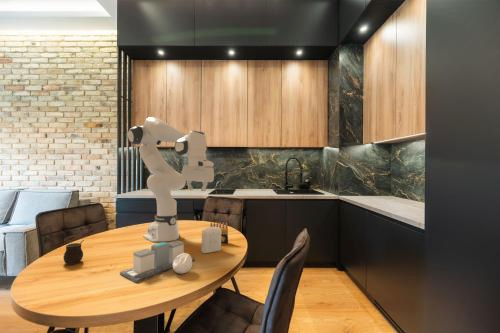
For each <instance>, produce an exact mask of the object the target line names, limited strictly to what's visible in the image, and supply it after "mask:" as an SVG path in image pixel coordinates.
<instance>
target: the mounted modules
mask: <svg viewBox="0 0 500 333" xmlns="http://www.w3.org/2000/svg"><path fill="white" fill-rule="evenodd" d="M167 243H168V244H169V261H174V260H175V259H176V257H177V256H178V255H180V254H183V253H185V252H184V251H185V250H184V249H185V247H184V245H185V243H184V242H183V241H180V240H172V241H169V242H167ZM132 254H133V263H132V264H133V267H132V268H133V270H134V271H136V272H138V273H142V272H144V271H147V270H150V269H153V268H154V254H155V251H152V250H151V248H145V249H141V250H138V251H134V252H133V253H132Z"/></svg>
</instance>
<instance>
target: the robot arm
mask: <svg viewBox="0 0 500 333" xmlns="http://www.w3.org/2000/svg"><path fill="white" fill-rule="evenodd" d="M206 137H207V135H206V134H205V132H204V131H197V130H190V131H189V133H188V134H186V133H184V132H182V131H180V130H178V129H177V128H176V127H174V126H172V125H171V124H168V123H167V122H166V121H164V120H163V119H160V118H158V117H155V116H149V117H148V118H145V120H144V122H143V125H136V126H133V127H131V128H129V130H128V131H127V138H128V140H129V142H130V144H132V145H140V146H139V147H138V148H139V149H138V152H139V155H140V157H141V159H142V161H143V163H144V165H145V166H146V168H147V170H148V172H150V173H151V174H150V175H149V176H148V178H147V179H146V187H147V188H148V190H149V191H150V192H151V193H153V194H152V195H154V198H155V200H156V214H155V215H154V218H155V219H154V221H153V222H152V223H151V224H150V225H149V226H148V227H147V233H145V234H143V235H142V237H143V238H144V239H147V240H148V241H150V242H152V243H157V242H158V243H162V242H173V241H177V240H178V239H180V236H181V234H180V233H179V224H178V223H179V222H178V214H177V209H178V208H177V205H178V202H177V200H176V199H175V198H173V196H172V194H171V192H175V191H179V190H181V189H184V187H185V186H186V185H187V190H188V191H192V190H193V189H194V186H193V185H192V182H198V183H202V187H201V188H200V191H201V192H206V190H207V186H208V185H209V184H208V183H212V182H214V179H215V170H214V169H215V168H214V162H213V161H210V160H208V159H207V153H208V145H207V138H206ZM162 142H164V143H174V152H175V154H176V155H177V156H179V157H184V158H187V159H188V161H187V162H185V163H184V164H183V165H182V169H181V173H180V172H178V171H176V169H174V168H173V167H172V166H171V165H170V164H168V163H167V161H166V160H165V158H164V157H163V155H162V154H161V152H160V150H158V148H157V146H160V145H161V144H162Z"/></svg>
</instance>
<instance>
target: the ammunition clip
mask: <svg viewBox="0 0 500 333" xmlns="http://www.w3.org/2000/svg"><path fill="white" fill-rule="evenodd" d="M210 227H218V228H221V245H222V244H225V245H228V243H229V229H228V222H227V221H226V222H224V221H223V222H221V221H219V222H218V221H216V222H215V221H211V222H210Z"/></svg>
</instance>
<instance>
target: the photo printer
mask: <svg viewBox="0 0 500 333" xmlns="http://www.w3.org/2000/svg"><path fill="white" fill-rule="evenodd" d="M221 228H222V227H221ZM221 228H219V226H218V227H216V226H215V227H213V226H212V227H206V228H204V229H202V231H201V253H202V254H209V253H214V252H221V251H222V243H221Z"/></svg>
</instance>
